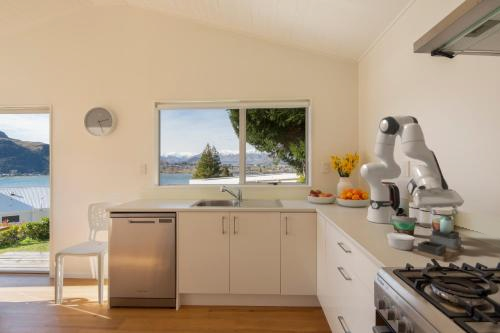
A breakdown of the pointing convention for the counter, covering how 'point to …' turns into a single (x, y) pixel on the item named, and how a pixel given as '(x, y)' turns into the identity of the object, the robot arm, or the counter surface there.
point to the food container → (404, 225)
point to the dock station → (440, 245)
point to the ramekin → (400, 241)
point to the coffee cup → (437, 222)
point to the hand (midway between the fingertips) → (445, 213)
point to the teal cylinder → (445, 224)
